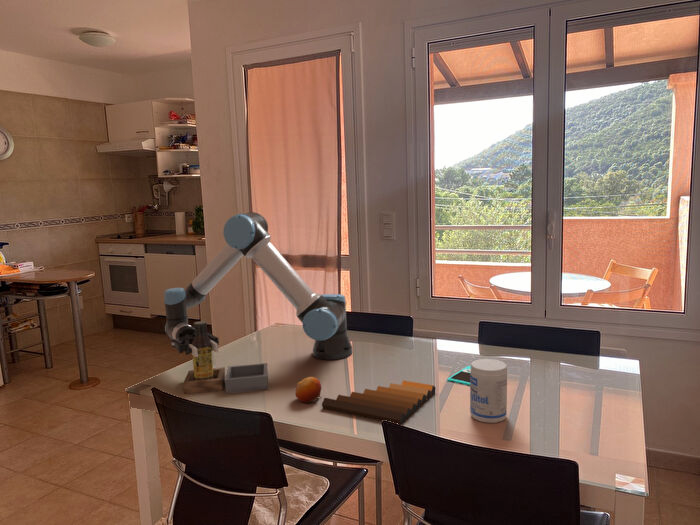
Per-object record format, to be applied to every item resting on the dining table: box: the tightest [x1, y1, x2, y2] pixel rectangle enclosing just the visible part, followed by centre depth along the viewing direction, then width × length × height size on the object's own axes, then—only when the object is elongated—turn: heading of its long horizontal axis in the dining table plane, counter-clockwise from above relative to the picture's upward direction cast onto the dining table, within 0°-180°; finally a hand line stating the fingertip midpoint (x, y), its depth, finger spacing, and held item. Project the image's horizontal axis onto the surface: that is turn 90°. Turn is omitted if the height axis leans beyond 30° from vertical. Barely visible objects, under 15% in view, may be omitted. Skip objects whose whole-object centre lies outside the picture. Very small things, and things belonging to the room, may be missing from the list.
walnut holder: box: [182, 366, 226, 395], centre depth 176 cm, size 12×12×4 cm
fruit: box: [295, 376, 322, 404], centre depth 160 cm, size 8×8×8 cm
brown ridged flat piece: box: [321, 380, 436, 425], centre depth 157 cm, size 25×3×25 cm
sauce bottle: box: [192, 320, 214, 380], centre depth 175 cm, size 6×6×20 cm
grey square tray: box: [224, 362, 269, 394], centre depth 175 cm, size 13×13×4 cm
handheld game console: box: [446, 365, 471, 387], centre depth 173 cm, size 10×16×1 cm, turn 140°
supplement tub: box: [469, 358, 508, 424], centre depth 142 cm, size 10×10×15 cm
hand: (206, 350), depth 171 cm, fingers closed on sauce bottle, 6 cm apart
